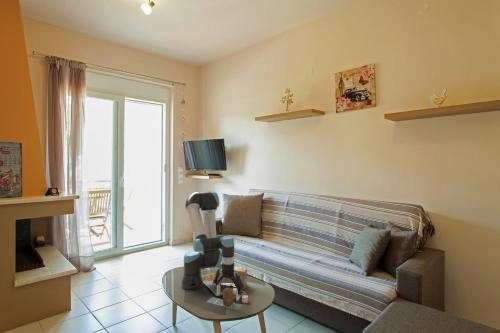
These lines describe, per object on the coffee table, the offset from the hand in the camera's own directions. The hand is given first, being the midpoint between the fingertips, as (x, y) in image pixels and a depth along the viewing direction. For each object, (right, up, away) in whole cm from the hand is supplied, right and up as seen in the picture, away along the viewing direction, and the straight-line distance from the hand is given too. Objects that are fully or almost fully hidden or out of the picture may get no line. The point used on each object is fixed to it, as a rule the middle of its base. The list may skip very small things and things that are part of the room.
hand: (228, 297), depth 177 cm
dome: (+4, -4, +8) cm, 10 cm away
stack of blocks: (0, -4, +27) cm, 28 cm away
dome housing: (+4, -4, +8) cm, 10 cm away
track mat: (-2, -5, +1) cm, 5 cm away
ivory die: (+10, -5, +4) cm, 12 cm away
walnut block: (0, -4, 0) cm, 4 cm away
